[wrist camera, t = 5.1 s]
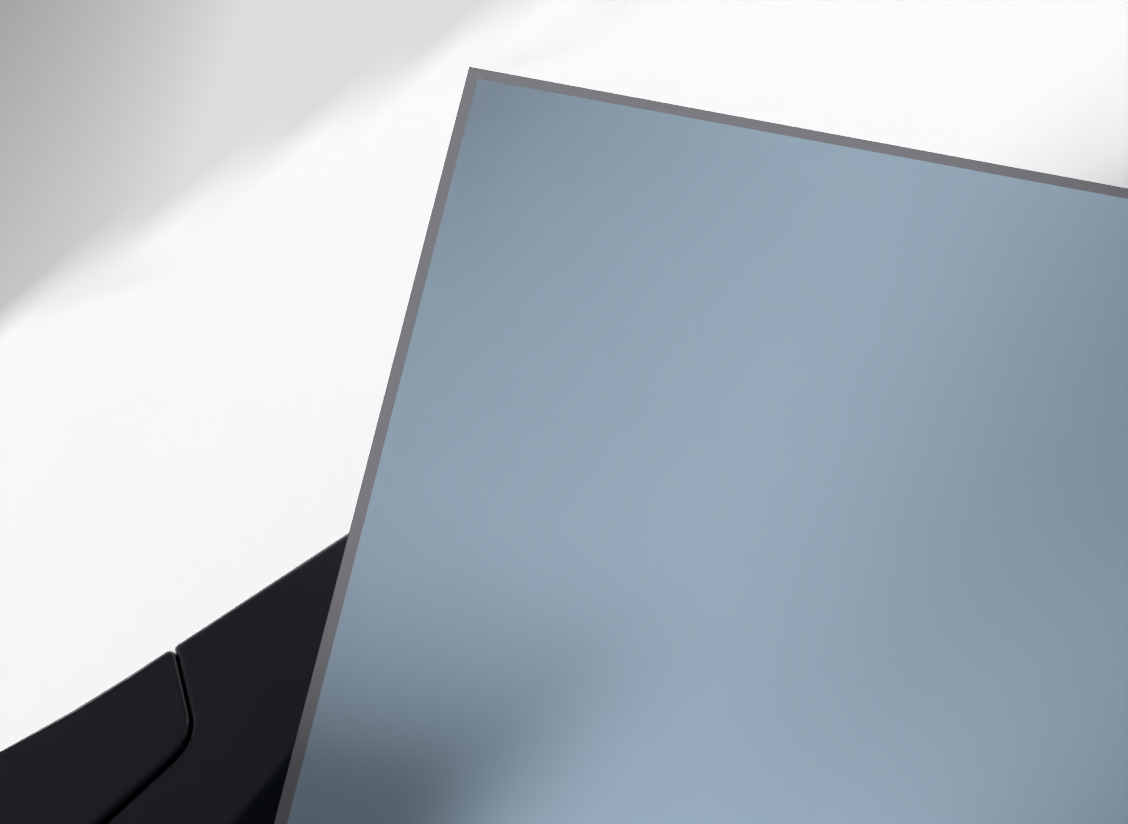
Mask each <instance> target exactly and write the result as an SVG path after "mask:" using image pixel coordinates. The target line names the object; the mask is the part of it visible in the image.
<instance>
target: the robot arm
mask: <svg viewBox="0 0 1128 824" xmlns="http://www.w3.org/2000/svg"><path fill="white" fill-rule="evenodd" d="M348 535H349V533H348V534H347V535H345V536H343V537H342V538H340V539H339V540H337V541H336V542H334V543H333V544H331V545H330V546H328V547H327V548H325V549H324V550H322V551H321V552H319V553H318V554H316V555H315V556H313V557H311V558H310V559H308V560H307V561H305V562H304V563H302V564H301V565H299V566H298V567H296V568H295V569H293V570H292V571H290V572H289V573H287V574H286V575H284V576H282V577H281V578H279V579H278V580H276V581H275V582H273V583H272V584H270V585H269V586H267V587H266V588H264V589H263V590H261V591H260V592H258V593H257V594H255V595H253V596H252V597H250V598H249V599H247V600H246V601H244V602H243V603H241V604H240V605H238V606H237V607H235V608H234V609H232V610H231V611H229V612H228V613H226V614H225V615H223V616H221V617H220V618H218V619H217V620H215V621H214V622H212V623H211V624H209V625H208V626H206V627H205V628H203V629H202V630H200V631H199V632H197V633H196V634H194V635H192V636H191V637H189V638H188V639H186V640H185V641H183V642H182V643H180V644H179V645H177V647H176V648H175V653H174V652H171V651H168V652H166V653H164V654H163V655H161V656H160V657H158V658H157V659H155V660H154V661H152V662H151V663H149V664H148V665H146V666H145V667H143V668H141V669H140V670H138V671H137V672H135V673H134V674H132V675H131V676H129V677H128V678H126V679H124V680H123V681H121V682H119V683H118V684H116V685H115V686H113V687H111V688H110V689H108V690H107V691H105V692H103V693H102V694H100V695H98V696H97V697H95V698H94V699H92V700H90V701H89V702H87V703H86V704H84V705H82V706H81V707H79V708H77V709H76V710H74V711H73V712H71V713H69V714H67V715H66V716H64V717H62V718H60V719H58V720H57V721H55V722H53V723H51V724H49V725H48V726H46V727H44V728H42V729H40V730H39V731H37V732H35V733H33V734H31V735H30V736H28V737H26V738H24V739H22V740H21V741H19V742H17V743H15V744H13V745H12V746H10V747H8V748H6V749H4V750H3V751H1V752H0V824H274V822H275V818H276V814H277V811H278V807H279V803H280V799H281V795H282V791H283V787H284V783H285V780H286V776H287V772H288V768H289V764H290V760H291V756H292V752H293V749H294V745H295V741H296V737H297V733H298V729H299V725H300V721H301V718H302V714H303V710H304V706H305V702H306V698H307V694H308V690H309V687H310V683H311V679H312V675H313V671H314V667H315V663H316V659H317V656H318V652H319V648H320V644H321V640H322V636H323V632H324V628H325V625H326V621H327V617H328V613H329V609H330V605H331V601H332V597H333V594H334V590H335V586H336V582H337V578H338V574H339V570H340V566H341V563H342V559H343V555H344V551H345V547H346V543H347V539H348Z"/></svg>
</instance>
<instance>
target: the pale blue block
mask: <svg viewBox="0 0 1128 824" xmlns="http://www.w3.org/2000/svg"><path fill="white" fill-rule="evenodd" d="M274 824H1128V189H1127V188H1121V187H1116V186H1110V185H1105V184H1100V183H1094V182H1089V181H1083V180H1078V179H1073V178H1067V177H1062V176H1056V175H1051V174H1046V173H1040V172H1035V171H1029V170H1024V169H1018V168H1013V167H1008V166H1002V165H997V164H991V163H986V162H981V161H975V160H970V159H964V158H959V157H954V156H948V155H943V154H937V153H932V152H926V151H921V150H916V149H910V148H905V147H899V146H894V145H889V144H883V143H878V142H872V141H867V140H862V139H856V138H851V137H845V136H840V135H834V134H829V133H824V132H818V131H813V130H807V129H802V128H797V127H791V126H786V125H780V124H775V123H770V122H764V121H759V120H753V119H748V118H743V117H737V116H732V115H726V114H721V113H715V112H710V111H705V110H699V109H694V108H688V107H683V106H678V105H672V104H667V103H661V102H656V101H651V100H645V99H640V98H634V97H629V96H623V95H618V94H613V93H607V92H602V91H596V90H591V89H586V88H580V87H575V86H569V85H564V84H559V83H553V82H548V81H542V80H537V79H531V78H526V77H521V76H515V75H510V74H504V73H499V72H494V71H488V70H483V69H477V68H472V67H469V70H468V74H467V78H466V82H465V86H464V90H463V94H462V98H461V101H460V105H459V109H458V113H457V117H456V121H455V125H454V129H453V132H452V136H451V140H450V144H449V148H448V152H447V156H446V160H445V163H444V167H443V171H442V175H441V179H440V183H439V187H438V191H437V194H436V198H435V202H434V206H433V210H432V214H431V218H430V222H429V225H428V229H427V233H426V237H425V241H424V245H423V249H422V253H421V256H420V260H419V264H418V268H417V272H416V276H415V280H414V284H413V287H412V291H411V295H410V299H409V303H408V307H407V311H406V315H405V318H404V322H403V326H402V330H401V334H400V338H399V342H398V346H397V349H396V353H395V357H394V361H393V365H392V369H391V373H390V377H389V380H388V384H387V388H386V392H385V396H384V400H383V404H382V408H381V411H380V415H379V419H378V423H377V427H376V431H375V435H374V439H373V442H372V446H371V450H370V454H369V458H368V462H367V466H366V470H365V473H364V477H363V481H362V485H361V489H360V493H359V497H358V501H357V504H356V508H355V512H354V516H353V520H352V524H351V528H350V532H349V535H348V539H347V543H346V547H345V551H344V555H343V559H342V563H341V566H340V570H339V574H338V578H337V582H336V586H335V590H334V594H333V597H332V601H331V605H330V609H329V613H328V617H327V621H326V625H325V628H324V632H323V636H322V640H321V644H320V648H319V652H318V656H317V659H316V663H315V667H314V671H313V675H312V679H311V683H310V687H309V690H308V694H307V698H306V702H305V706H304V710H303V714H302V718H301V721H300V725H299V729H298V733H297V737H296V741H295V745H294V749H293V752H292V756H291V760H290V764H289V768H288V772H287V776H286V780H285V783H284V787H283V791H282V795H281V799H280V803H279V807H278V811H277V814H276V818H275V822H274Z"/></svg>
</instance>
